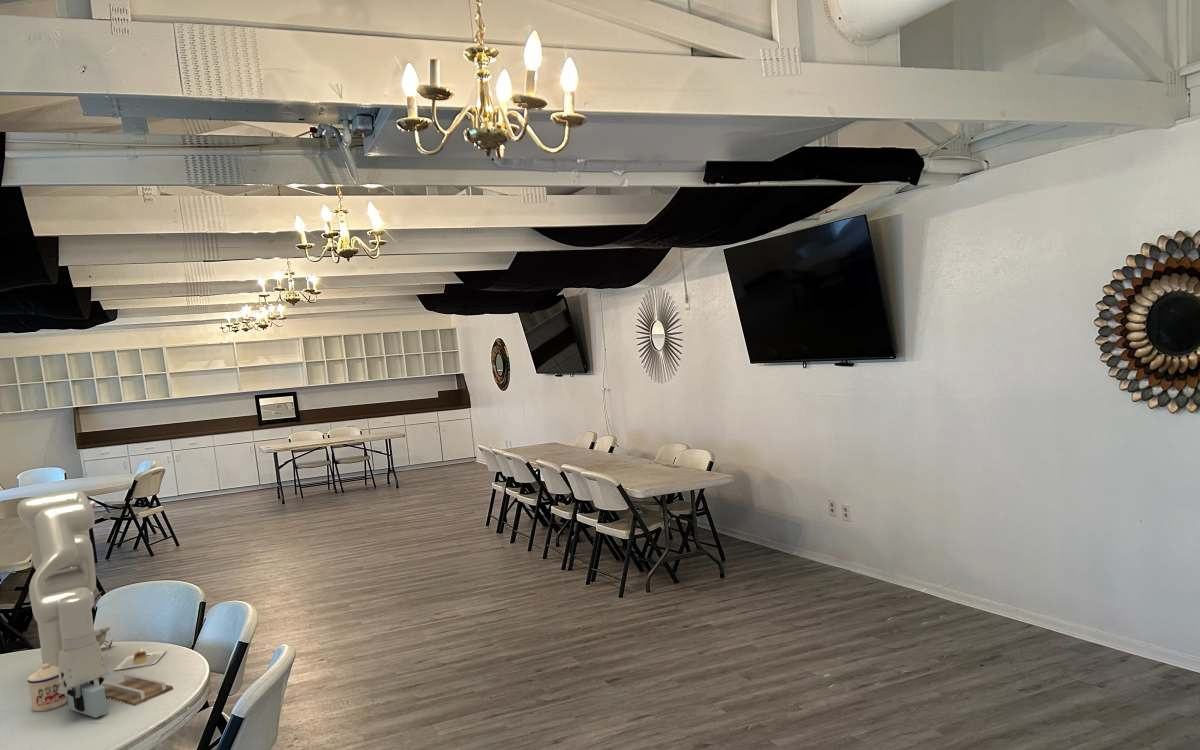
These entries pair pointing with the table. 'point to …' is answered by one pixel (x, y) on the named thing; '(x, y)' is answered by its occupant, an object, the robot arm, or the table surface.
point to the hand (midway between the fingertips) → (87, 706)
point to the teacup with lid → (46, 689)
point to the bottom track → (135, 689)
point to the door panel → (91, 700)
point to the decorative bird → (103, 637)
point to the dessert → (140, 658)
